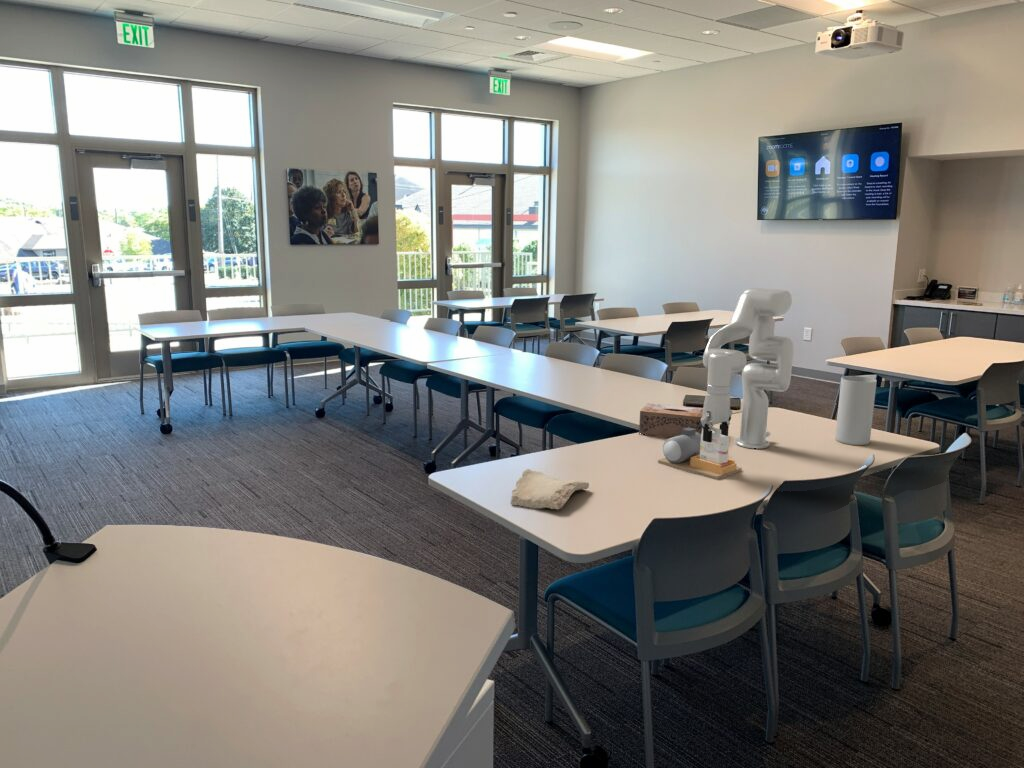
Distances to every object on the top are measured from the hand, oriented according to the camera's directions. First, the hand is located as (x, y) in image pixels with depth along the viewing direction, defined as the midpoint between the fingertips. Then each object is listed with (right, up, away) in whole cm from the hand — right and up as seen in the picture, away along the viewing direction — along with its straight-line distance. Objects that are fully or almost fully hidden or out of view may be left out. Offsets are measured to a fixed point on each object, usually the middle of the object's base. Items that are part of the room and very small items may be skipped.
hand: (715, 438), depth 257 cm
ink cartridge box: (0, -10, +2) cm, 10 cm away
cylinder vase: (+65, -4, +40) cm, 76 cm away
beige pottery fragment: (-59, -16, -25) cm, 66 cm away
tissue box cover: (-3, -2, +49) cm, 49 cm away
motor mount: (-4, -10, +6) cm, 12 cm away
